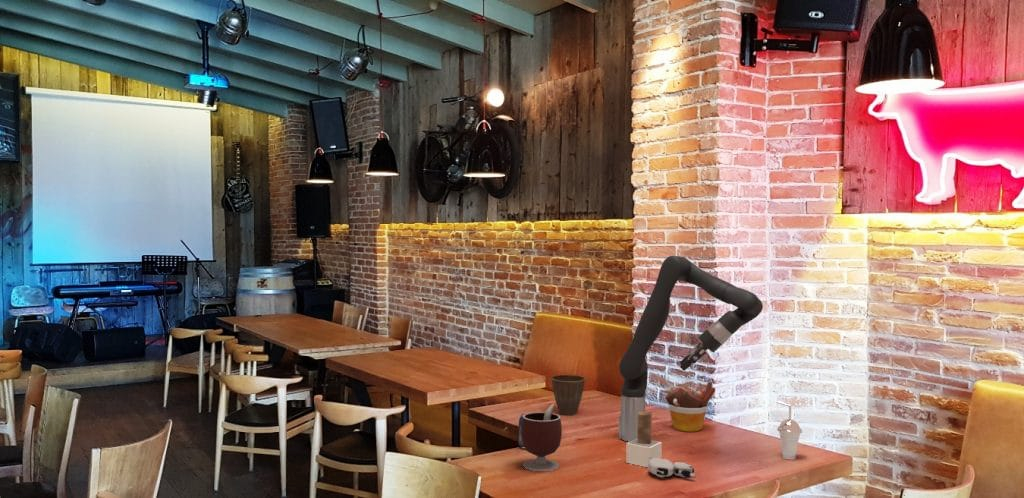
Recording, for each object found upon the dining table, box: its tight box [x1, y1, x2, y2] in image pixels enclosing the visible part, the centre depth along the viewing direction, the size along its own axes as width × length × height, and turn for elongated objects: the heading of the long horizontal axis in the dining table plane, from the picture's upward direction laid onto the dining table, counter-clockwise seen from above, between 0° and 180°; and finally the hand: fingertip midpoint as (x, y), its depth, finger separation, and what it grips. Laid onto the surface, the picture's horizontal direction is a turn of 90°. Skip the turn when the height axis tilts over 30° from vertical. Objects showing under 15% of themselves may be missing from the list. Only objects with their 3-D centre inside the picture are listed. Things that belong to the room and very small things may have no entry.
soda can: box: [518, 413, 525, 449], centre depth 275 cm, size 7×7×12 cm
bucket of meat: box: [664, 381, 716, 433], centre depth 305 cm, size 20×16×20 cm
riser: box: [625, 438, 663, 468], centre depth 257 cm, size 9×9×7 cm
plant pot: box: [551, 374, 586, 416], centre depth 329 cm, size 15×15×16 cm
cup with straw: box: [774, 400, 803, 460], centre depth 266 cm, size 8×9×20 cm
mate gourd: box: [521, 403, 563, 472], centre depth 252 cm, size 16×14×20 cm
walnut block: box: [638, 411, 653, 444], centre depth 257 cm, size 4×4×10 cm
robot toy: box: [647, 457, 696, 479], centre depth 244 cm, size 12×4×15 cm
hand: (681, 366), depth 264 cm, fingers open, 8 cm apart
